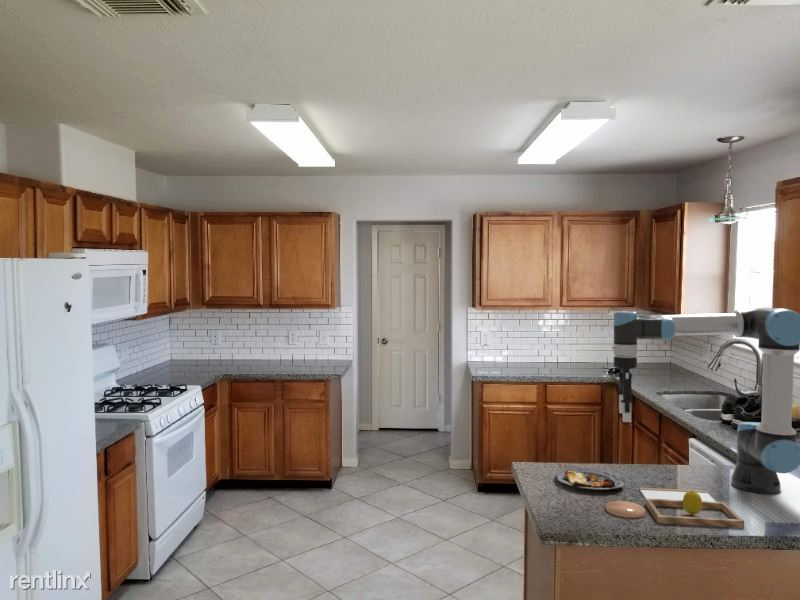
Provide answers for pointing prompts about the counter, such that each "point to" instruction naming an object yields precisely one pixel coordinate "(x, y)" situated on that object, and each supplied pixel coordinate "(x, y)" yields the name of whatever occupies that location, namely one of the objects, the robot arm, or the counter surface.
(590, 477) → the food plate
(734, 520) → the wooden frame
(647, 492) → the lid
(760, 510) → the counter surface
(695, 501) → the lemon
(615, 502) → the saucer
